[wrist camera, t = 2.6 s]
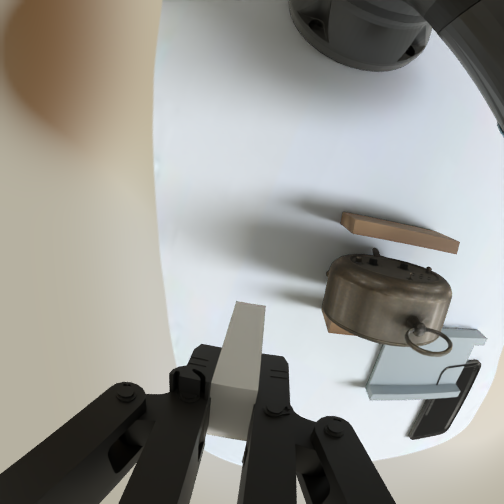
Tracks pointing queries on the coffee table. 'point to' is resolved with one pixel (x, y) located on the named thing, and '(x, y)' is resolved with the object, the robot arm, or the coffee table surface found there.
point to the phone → (444, 405)
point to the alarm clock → (388, 301)
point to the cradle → (422, 368)
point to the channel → (392, 233)
